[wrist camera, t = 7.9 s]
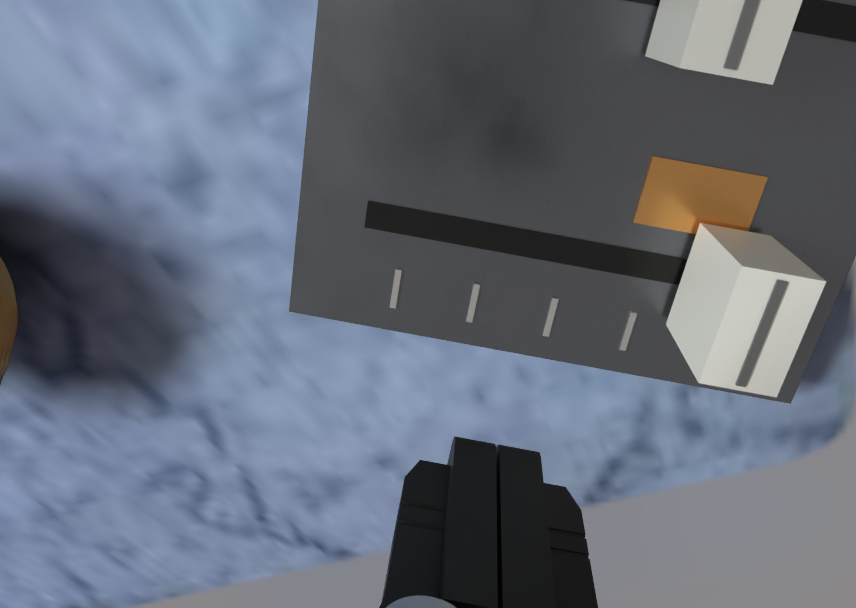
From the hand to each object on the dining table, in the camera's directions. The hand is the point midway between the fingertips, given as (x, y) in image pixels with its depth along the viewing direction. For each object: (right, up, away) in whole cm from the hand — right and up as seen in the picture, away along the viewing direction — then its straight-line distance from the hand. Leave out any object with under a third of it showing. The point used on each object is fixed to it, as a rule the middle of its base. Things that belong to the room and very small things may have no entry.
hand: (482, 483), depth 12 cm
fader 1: (+8, +13, +9) cm, 18 cm away
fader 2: (+9, +4, +13) cm, 17 cm away
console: (+5, +10, +13) cm, 17 cm away
